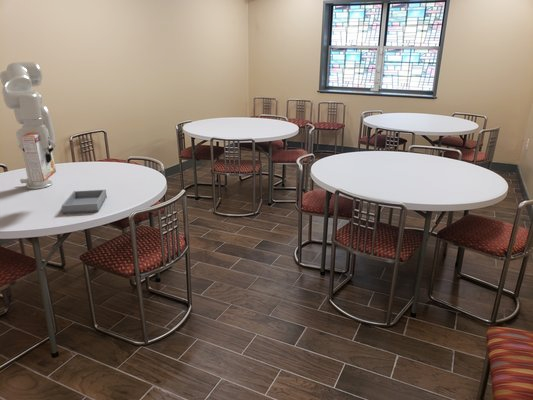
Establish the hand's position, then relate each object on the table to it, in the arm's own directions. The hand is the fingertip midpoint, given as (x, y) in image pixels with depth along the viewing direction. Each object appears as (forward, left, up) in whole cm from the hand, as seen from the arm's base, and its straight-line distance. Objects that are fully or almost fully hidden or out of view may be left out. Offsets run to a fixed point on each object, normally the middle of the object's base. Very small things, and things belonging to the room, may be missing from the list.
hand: (40, 161), depth 184 cm
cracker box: (0, 0, -7) cm, 7 cm away
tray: (+16, -1, -22) cm, 27 cm away
